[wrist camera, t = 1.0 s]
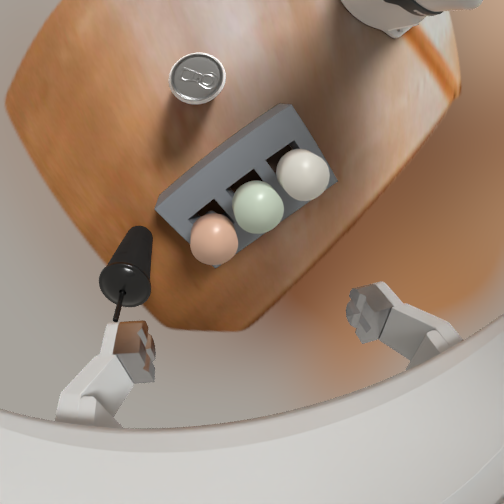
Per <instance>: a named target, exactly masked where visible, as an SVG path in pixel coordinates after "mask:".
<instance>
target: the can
mask: <svg viewBox="0 0 504 504" xmlns="http://www.w3.org/2000/svg"><path fill="white" fill-rule="evenodd" d="M225 80H226V74H225V69H224V67H223V65H222V63H221V62H220V61H219V60H218V59H217V58H215V57H214V56H212V55H210V54H206V53H192V54H188V55H186V56H184V57H182V58H181V59H179V60H178V61H177V62H176V63H175V64H174V66H173V67H172V69H171V71H170V74H169V86H170V89H171V91H172V93H173V94H174V96H175V97H176V98H178V99H179V100H181V101H182V102H185V103H188V104H203V103H206V102H209V101H211V100H212V99H214V98H215V97H216V96H217V95H218V94H219V93H220V92H221V91H222V89H223V87H224V84H225Z"/></svg>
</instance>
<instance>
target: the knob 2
mask: <svg viewBox="0 0 504 504" xmlns="http://www.w3.org/2000/svg"><path fill="white" fill-rule="evenodd" d="M276 175H277V179H278V182H279V183H280V185H281V186H282V187H283V188H284V190H285V191H286V192H287V193H288V194H289V195H290V196H291V197H292V198H294V199H296V200H299V201H309V200H313V199H315V198H317V197H318V196H320V195H321V194H322V193H323V192H324V190H325V189H326V187H327V185H328V183H329V177H330V173H329V168H328V166H327V164H326V162H325V161H324V160H323V159H322V158H320V157H319V156H317V155H315V154H314V153H312V152H310V151H308V150H305V149H294V150H291V151H289V152H287V153H286V154H285V155H283V156H282V157H281V158H280V161H279V163H278V165H277V169H276Z"/></svg>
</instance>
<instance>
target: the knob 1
mask: <svg viewBox="0 0 504 504" xmlns="http://www.w3.org/2000/svg"><path fill="white" fill-rule="evenodd" d="M190 247H191V251H192V254H193V255H194V257H195V258H196V259H197V260H199V261H200V262H202V263H204V264H208V265H219V264H223V263H225V262H227V261H229V260H230V259H231V258H232V257H233V256H234V255H235V253H236V251H237V249H238V239H237V235H236V231H235V228H234V225H233V223H232V222H231V220H230V219H228V218H227V217H226V216H224V215H221V214H217V213H216V212H215V211H208V212H206V214H205V215H204V216H202V217H200V218H199V219H197V220H196V221H195V223H194V224H193V226H192V229H191V240H190Z"/></svg>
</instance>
